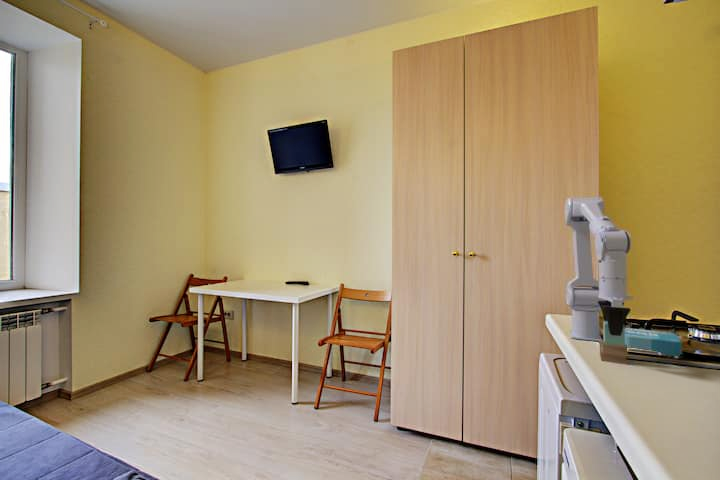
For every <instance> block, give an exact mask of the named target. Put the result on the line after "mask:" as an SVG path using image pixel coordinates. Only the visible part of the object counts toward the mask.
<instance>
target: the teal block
mask: <svg viewBox="0 0 720 480" xmlns="http://www.w3.org/2000/svg"><path fill="white" fill-rule="evenodd" d="M602 322H603V324H602V325H603V326H602V327H603V329H602V330H603V332H602V333H603V334H602V335H603V339H602V340H604V343H605V344H610V345H619V346H625V328H626V326H625V325H624V326H623V330H622V334H621V336H615V335H610V332H609V328H608V323H607V321H604V320H603V321H602Z"/></svg>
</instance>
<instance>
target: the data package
mask: <svg viewBox="0 0 720 480" xmlns="http://www.w3.org/2000/svg"><path fill="white" fill-rule="evenodd" d="M625 345H626V346H627V348H637V349H643V350H652V351H657V352H660V353H662V354H665V355H668V356H680V355H681V354H682V355H683V341H682V340H681V339H680V338H679V336H678V335H677V334H676V333H674V332H668V331H659V330H650V329H641V328H631V327H625Z"/></svg>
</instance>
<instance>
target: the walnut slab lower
mask: <svg viewBox="0 0 720 480" xmlns="http://www.w3.org/2000/svg"><path fill="white" fill-rule="evenodd" d="M599 357H600V361H601V362H606V363H615V364H620V365H621V364H622V365H627V356H621V355H612V354H604V353H602V351H601V350H600V349H599Z"/></svg>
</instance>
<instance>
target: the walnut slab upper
mask: <svg viewBox="0 0 720 480" xmlns="http://www.w3.org/2000/svg"><path fill="white" fill-rule="evenodd" d="M600 350H601V351H602V353H604V354H612V355H621V356H626V357H628V351H627V346H626V345H625V346H619V345H610V344H605V343H604V340H603V339H602V340H600V341H599V351H600Z"/></svg>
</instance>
